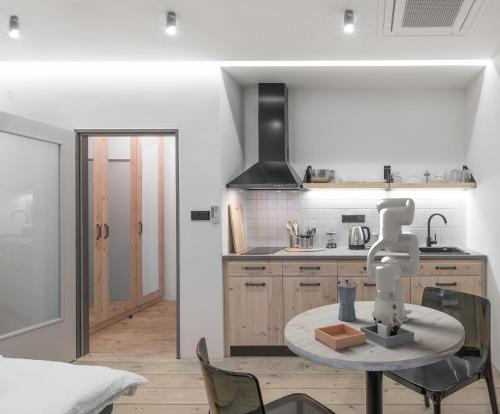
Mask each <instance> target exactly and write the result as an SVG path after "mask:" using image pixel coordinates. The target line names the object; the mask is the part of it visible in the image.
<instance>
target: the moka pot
mask: <svg viewBox="0 0 500 414" xmlns="http://www.w3.org/2000/svg"><path fill="white" fill-rule="evenodd" d="M357 288H358V286H357V284H356V283H351V282H349V279H345V282H343V281H340V280H338V282H337V284H336V289H337V293H338V299H339V308H338V316H337V319H338V320H340V321H343V322H350V323H351V322H355V321H356V320H357V317H356V316H357V315H356V308H355V302H356V296H357Z"/></svg>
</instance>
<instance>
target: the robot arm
mask: <svg viewBox="0 0 500 414" xmlns="http://www.w3.org/2000/svg"><path fill="white" fill-rule="evenodd" d="M415 209H416V205H415V201H414V199H413V198H411V197H396V198H395V197H393V198H392V197H391V198H389V197H388V198H382V199H379V200H377V201H376V211H377V212H378V233H377V234H378V238H377V240H376V242H374V243H373V244H372V245H371V247H370V248H369V250H368V253H367V257H366V274H367V276H368V277H369V278H370V279H375V295H376V296H375V299H374V311H372V312H371V315H372V319H373V321H374V325H376V334H378V325H377V324H378V323H384V322H385V323H387V324H389V325H390V328H391V331H390V337H391V336H396V335H397V330H398V329H399V328H400V327H401V326H402V325H403V324H404V323H407V322H409V317H408V316H407V315H411V314H412V313H413V312H412V310H411V309H407V310H406V309H405V308H406V307H405V285H404V281H403V280H402V279H401V278H400V277H401V276H403V277H405V276H407V277H415V276H417V275H418V274H420V245H419V239H418V237H417V235H415V234H412V233H403V232H402V231H403V228H402V226H411V225H412V224H413V222H414V217H415ZM382 250H385V251H386V252H387V253H395V254H408V255H391V254H390V255H385V256H383V257H382V258H381V260H380V261H375V257H376V254H377V253H379V252H380V251H382ZM393 325H394V327H393Z"/></svg>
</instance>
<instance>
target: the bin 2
mask: <svg viewBox="0 0 500 414" xmlns="http://www.w3.org/2000/svg"><path fill="white" fill-rule="evenodd" d="M359 331H361V332H363V333H366V340H368V341H370V342H372V343H375V344H377V345H379V346H381V347H383V348H385V349H388V348H392V347H396V346H397V347H398V346H401V345H405V344H411V343H414V342H415V332H414V331H411V330H409V329H406V328H404V327H401V326H400V328H399V329H398V330H397V335H396V336H391V337H383V336H381V335H379V334H376V324H372V325H367V326H362V327H360V330H359Z"/></svg>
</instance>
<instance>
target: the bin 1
mask: <svg viewBox="0 0 500 414" xmlns="http://www.w3.org/2000/svg"><path fill="white" fill-rule="evenodd" d="M314 340H315V341H318V342H319V343H321V344H323V345H324V346H326V347H327V348H330V349H332V350H333V351H334V352H338V351H339V352H340V351H343V350H347V349H350V347H352V346H357V345H361V344H367V339H366V333H363V332H361V331H360V330H359V329H356V328H355V327H353V326H350V325H349V324H348V325H347V324H346V323H343V322H342V323H337V324H332V325H328V326H327V325H326V326H322V327H315V328H314Z"/></svg>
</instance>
